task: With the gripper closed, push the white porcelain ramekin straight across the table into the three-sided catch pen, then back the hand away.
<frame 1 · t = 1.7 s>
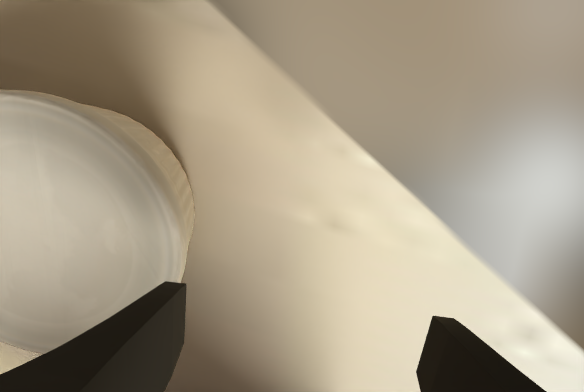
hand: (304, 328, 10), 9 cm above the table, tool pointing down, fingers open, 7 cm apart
ramekin: (109, 197, 19), on the table
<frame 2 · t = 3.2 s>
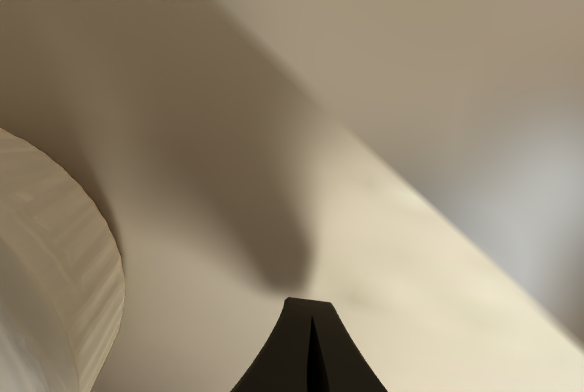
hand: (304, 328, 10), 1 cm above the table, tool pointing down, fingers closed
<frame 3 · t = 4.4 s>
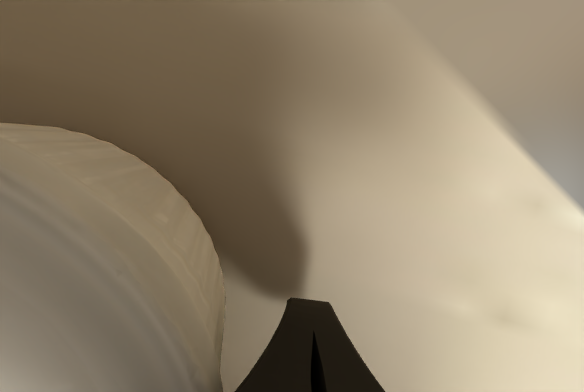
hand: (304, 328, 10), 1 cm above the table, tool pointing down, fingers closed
ramekin: (86, 268, 12), on the table, touching gripper
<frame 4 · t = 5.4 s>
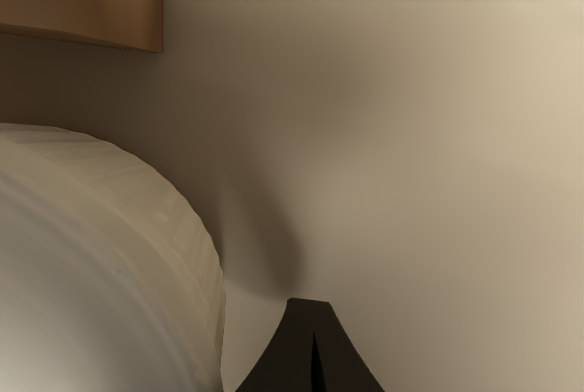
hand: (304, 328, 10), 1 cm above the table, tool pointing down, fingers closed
ramekin: (86, 268, 12), on the table, touching gripper
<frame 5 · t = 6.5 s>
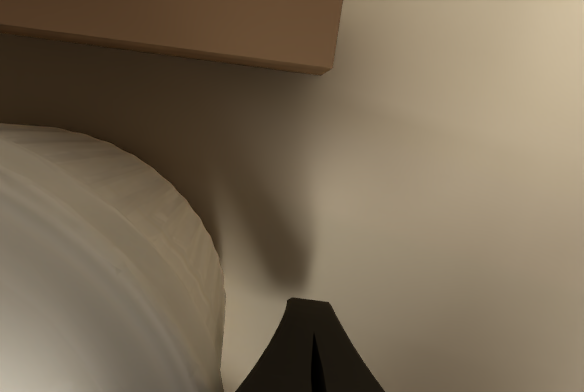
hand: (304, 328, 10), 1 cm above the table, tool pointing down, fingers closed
ramekin: (86, 268, 12), on the table, touching gripper
catch pen: (92, 273, 11), on the table
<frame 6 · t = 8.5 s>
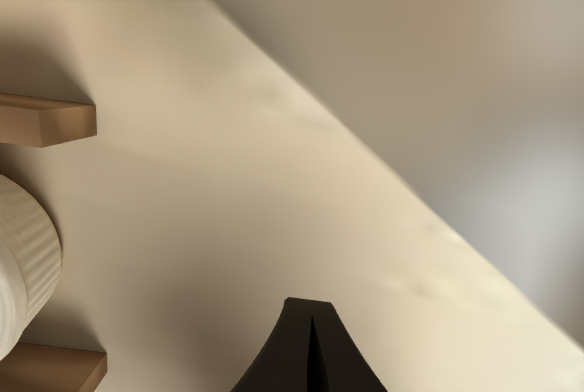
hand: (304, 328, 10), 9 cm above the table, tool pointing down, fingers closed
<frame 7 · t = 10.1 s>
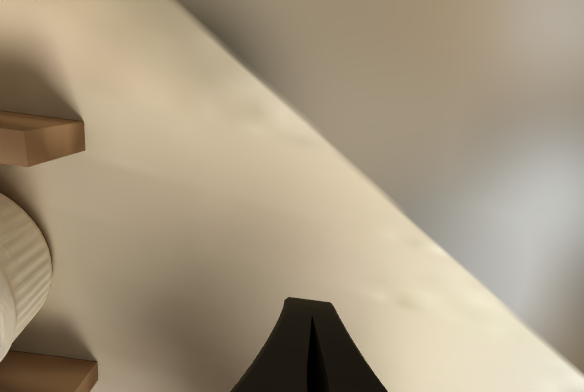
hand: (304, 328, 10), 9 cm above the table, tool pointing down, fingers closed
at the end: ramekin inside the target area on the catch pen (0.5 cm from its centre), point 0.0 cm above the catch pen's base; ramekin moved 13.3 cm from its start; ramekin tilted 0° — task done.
